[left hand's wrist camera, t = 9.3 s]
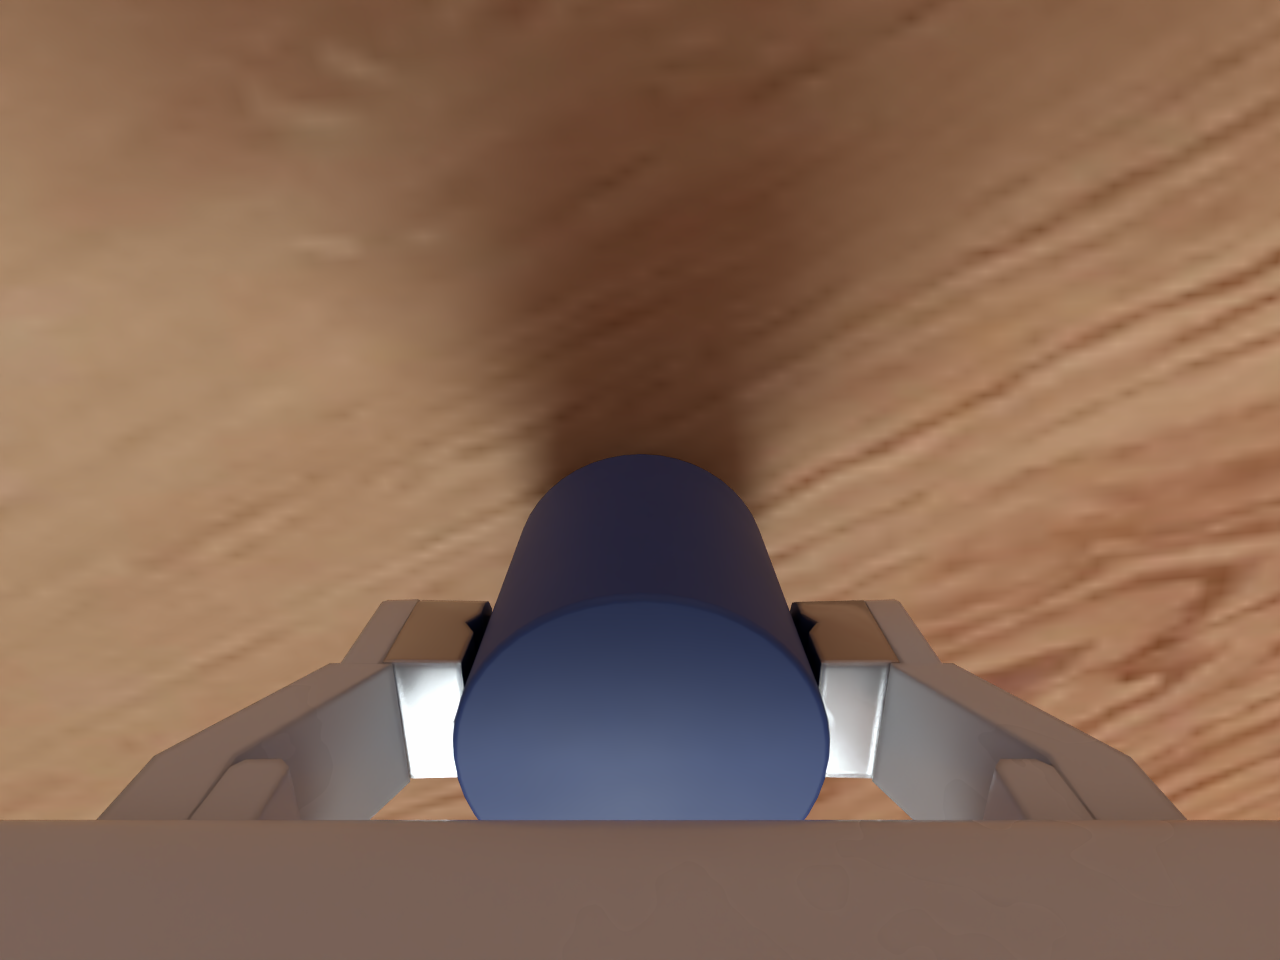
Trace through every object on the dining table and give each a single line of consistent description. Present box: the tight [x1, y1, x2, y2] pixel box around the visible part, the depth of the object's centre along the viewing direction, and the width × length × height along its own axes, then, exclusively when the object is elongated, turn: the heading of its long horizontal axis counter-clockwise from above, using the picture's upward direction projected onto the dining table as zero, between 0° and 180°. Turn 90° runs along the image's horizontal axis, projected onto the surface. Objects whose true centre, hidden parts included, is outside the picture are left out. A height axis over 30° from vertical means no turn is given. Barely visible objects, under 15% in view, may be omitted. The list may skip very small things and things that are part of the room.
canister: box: [452, 454, 830, 820], centre depth 10 cm, size 4×4×5 cm
